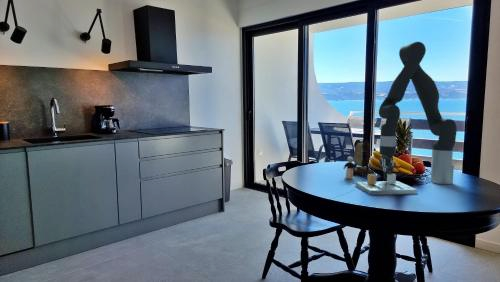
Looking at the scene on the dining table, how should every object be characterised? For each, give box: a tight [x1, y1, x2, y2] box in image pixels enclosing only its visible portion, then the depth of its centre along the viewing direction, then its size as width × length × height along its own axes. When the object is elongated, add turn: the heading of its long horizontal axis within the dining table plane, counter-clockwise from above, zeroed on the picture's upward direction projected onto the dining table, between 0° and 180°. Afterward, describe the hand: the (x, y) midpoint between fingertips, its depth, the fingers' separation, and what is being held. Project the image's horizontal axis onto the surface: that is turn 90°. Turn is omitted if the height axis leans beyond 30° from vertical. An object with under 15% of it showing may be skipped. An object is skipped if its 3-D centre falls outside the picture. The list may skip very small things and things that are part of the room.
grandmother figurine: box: [343, 156, 358, 181], centre depth 181 cm, size 8×4×13 cm, turn 62°
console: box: [355, 180, 418, 196], centre depth 158 cm, size 22×17×2 cm
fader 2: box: [386, 173, 397, 184], centre depth 162 cm, size 3×3×5 cm
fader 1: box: [366, 173, 377, 184], centre depth 161 cm, size 3×3×5 cm
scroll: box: [353, 139, 375, 177], centre depth 194 cm, size 15×15×20 cm
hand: (386, 179), depth 167 cm, fingers closed
